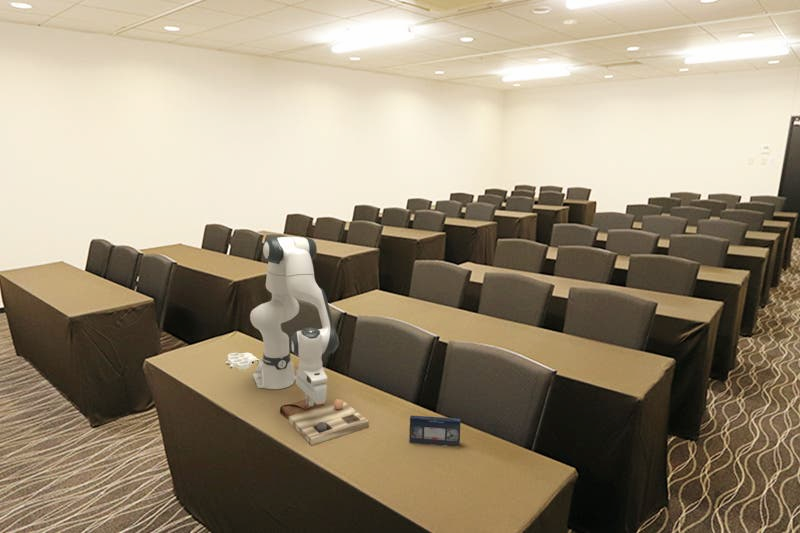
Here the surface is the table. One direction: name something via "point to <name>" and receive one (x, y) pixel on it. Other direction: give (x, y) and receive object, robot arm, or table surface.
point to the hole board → (328, 422)
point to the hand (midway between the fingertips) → (310, 404)
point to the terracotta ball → (338, 404)
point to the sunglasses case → (297, 408)
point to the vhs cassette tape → (434, 430)
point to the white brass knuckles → (241, 360)
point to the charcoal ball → (321, 427)
